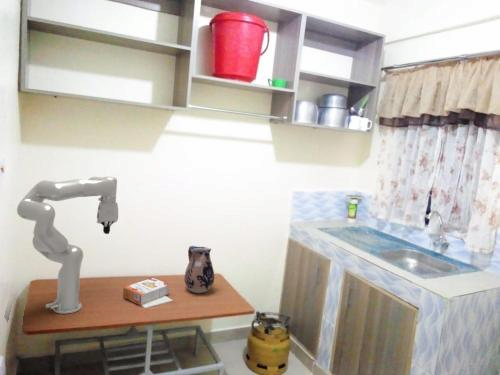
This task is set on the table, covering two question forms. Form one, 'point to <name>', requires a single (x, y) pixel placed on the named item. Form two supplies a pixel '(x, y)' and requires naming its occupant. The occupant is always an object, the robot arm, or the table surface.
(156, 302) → the mat
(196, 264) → the ceramic pitcher
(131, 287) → the cracker box
